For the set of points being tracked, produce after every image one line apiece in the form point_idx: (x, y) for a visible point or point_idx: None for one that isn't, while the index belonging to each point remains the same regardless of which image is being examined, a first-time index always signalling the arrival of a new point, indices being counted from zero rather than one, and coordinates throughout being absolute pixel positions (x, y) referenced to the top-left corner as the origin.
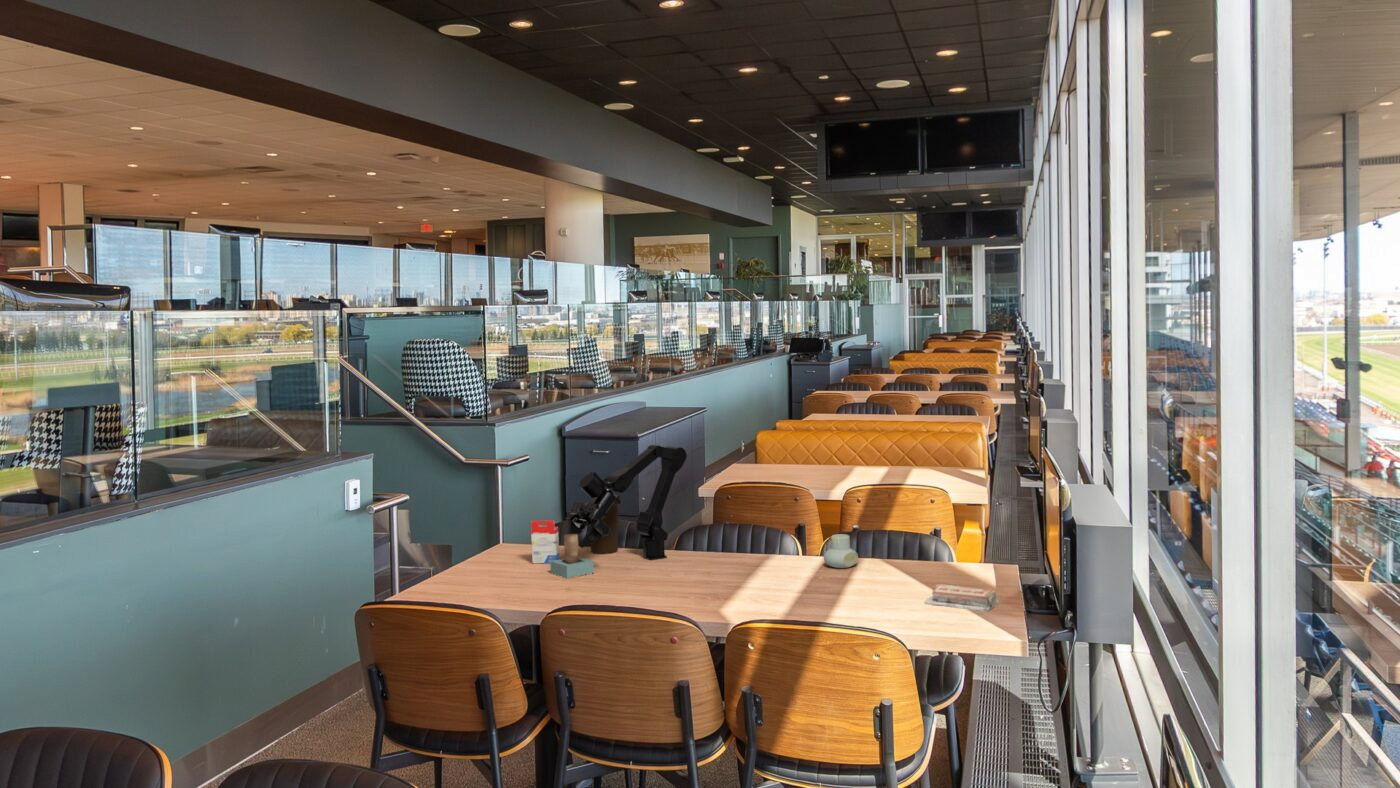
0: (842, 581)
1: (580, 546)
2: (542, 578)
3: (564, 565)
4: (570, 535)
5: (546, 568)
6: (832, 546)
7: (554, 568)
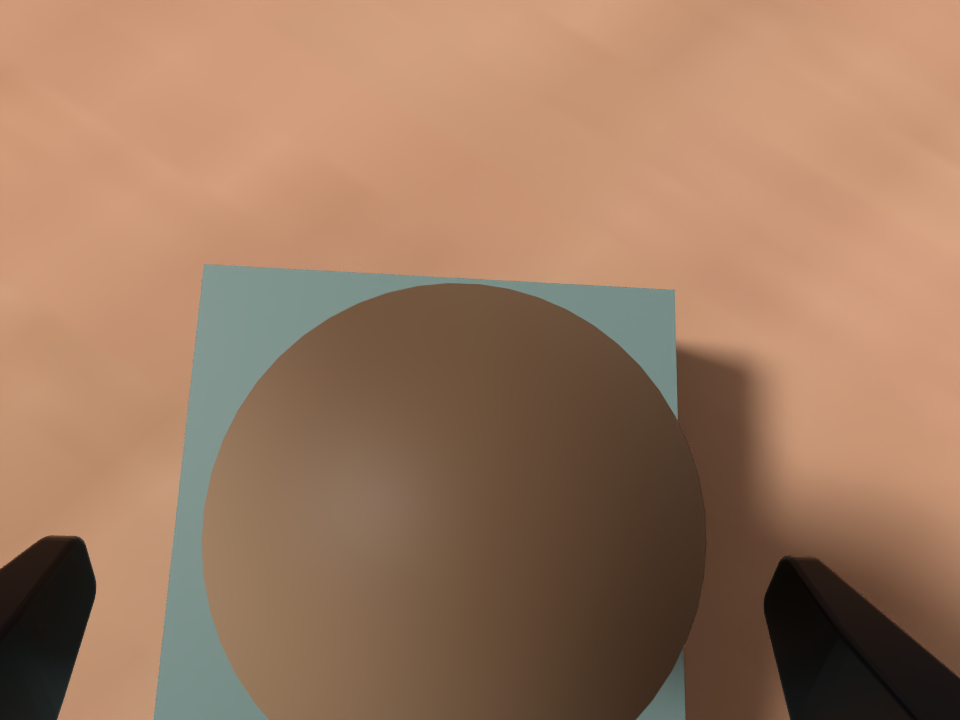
0: None
1: (53, 547)
2: (484, 140)
3: (272, 269)
4: (410, 467)
5: (895, 444)
6: None
7: None
